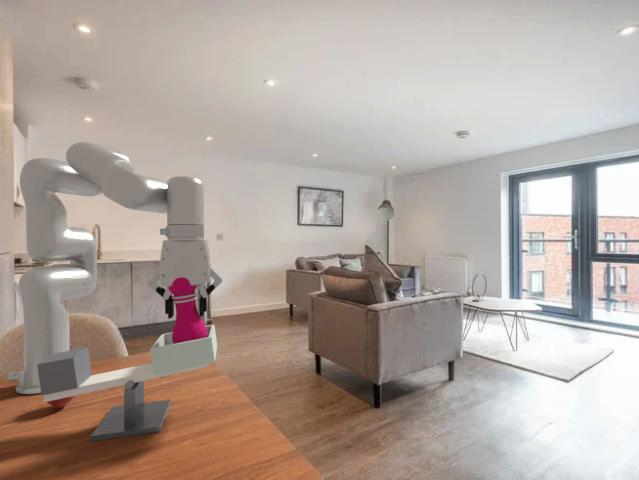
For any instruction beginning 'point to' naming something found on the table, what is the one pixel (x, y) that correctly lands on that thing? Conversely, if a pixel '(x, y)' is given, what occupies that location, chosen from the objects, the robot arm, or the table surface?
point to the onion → (61, 402)
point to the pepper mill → (186, 312)
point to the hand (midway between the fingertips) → (186, 315)
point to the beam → (167, 359)
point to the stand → (132, 416)
